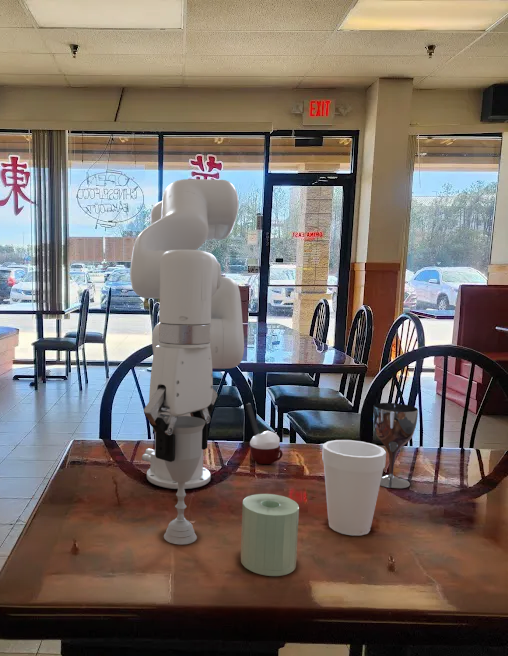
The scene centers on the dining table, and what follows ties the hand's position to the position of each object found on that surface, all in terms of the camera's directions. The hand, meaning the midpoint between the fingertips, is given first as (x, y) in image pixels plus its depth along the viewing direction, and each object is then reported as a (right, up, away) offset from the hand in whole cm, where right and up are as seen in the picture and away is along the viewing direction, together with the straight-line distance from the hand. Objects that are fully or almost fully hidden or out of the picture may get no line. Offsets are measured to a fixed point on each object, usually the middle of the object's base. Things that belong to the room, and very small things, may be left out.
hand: (182, 452), depth 85 cm
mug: (+12, -14, -4) cm, 19 cm away
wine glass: (+42, -11, +27) cm, 51 cm away
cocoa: (+19, -9, +39) cm, 44 cm away
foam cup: (+27, -13, +6) cm, 31 cm away
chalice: (0, -13, +2) cm, 13 cm away
